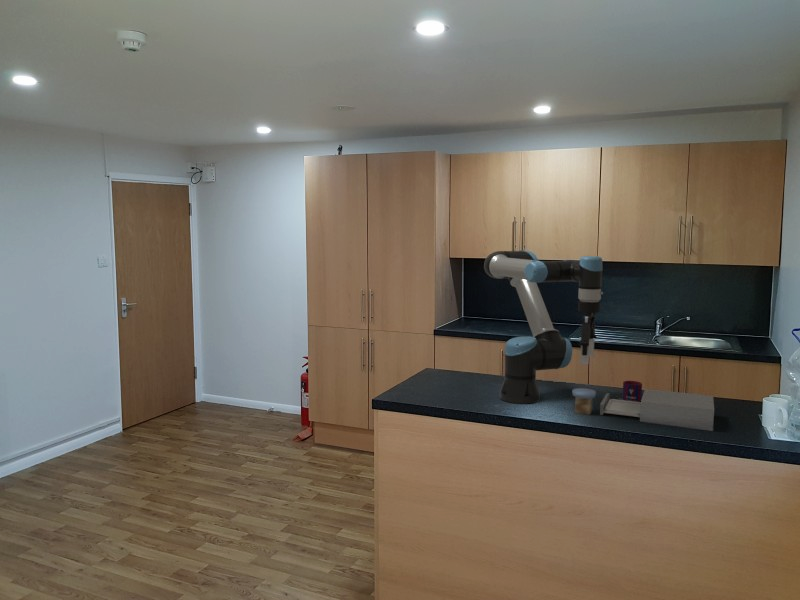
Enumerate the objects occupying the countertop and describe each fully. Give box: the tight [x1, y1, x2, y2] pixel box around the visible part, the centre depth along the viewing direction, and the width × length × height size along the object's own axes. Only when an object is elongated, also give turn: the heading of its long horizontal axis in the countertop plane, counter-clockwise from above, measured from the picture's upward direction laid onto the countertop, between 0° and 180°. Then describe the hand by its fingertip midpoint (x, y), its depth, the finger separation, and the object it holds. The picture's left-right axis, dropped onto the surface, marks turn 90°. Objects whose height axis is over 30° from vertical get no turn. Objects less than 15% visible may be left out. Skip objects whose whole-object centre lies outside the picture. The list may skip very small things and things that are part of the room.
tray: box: [599, 392, 641, 418], centre depth 214 cm, size 18×16×4 cm
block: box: [574, 397, 593, 416], centre depth 215 cm, size 5×5×6 cm
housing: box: [639, 388, 715, 432], centre depth 207 cm, size 22×18×7 cm
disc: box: [572, 387, 597, 399], centre depth 215 cm, size 8×8×2 cm
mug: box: [621, 380, 643, 402], centre depth 231 cm, size 7×10×7 cm
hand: (587, 360), depth 214 cm, fingers open, 13 cm apart
